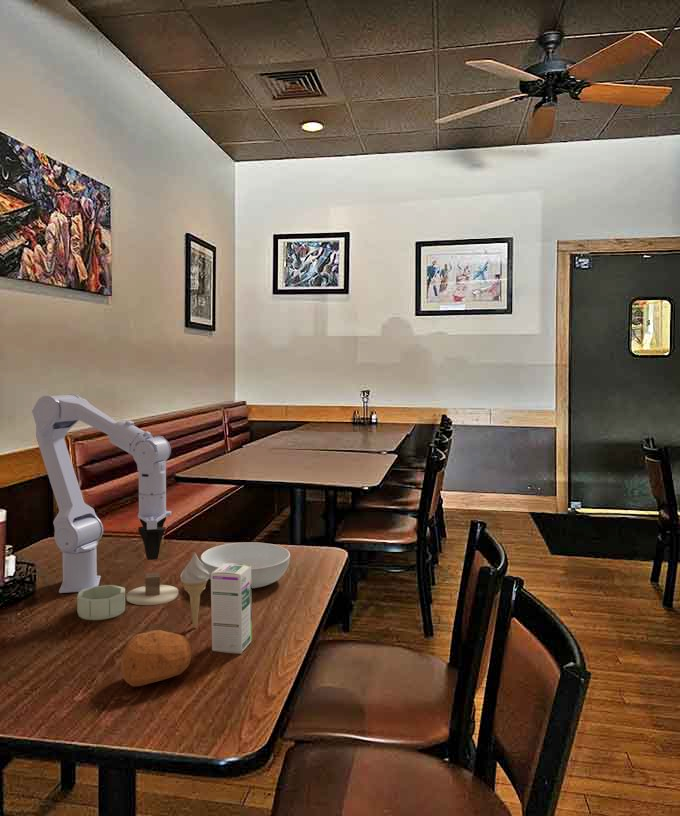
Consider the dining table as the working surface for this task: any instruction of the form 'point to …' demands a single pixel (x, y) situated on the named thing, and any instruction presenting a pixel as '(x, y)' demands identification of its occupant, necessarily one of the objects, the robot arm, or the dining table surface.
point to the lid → (152, 592)
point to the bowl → (101, 602)
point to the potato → (155, 657)
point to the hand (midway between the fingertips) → (152, 554)
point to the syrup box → (231, 608)
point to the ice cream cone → (194, 583)
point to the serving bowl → (250, 560)
